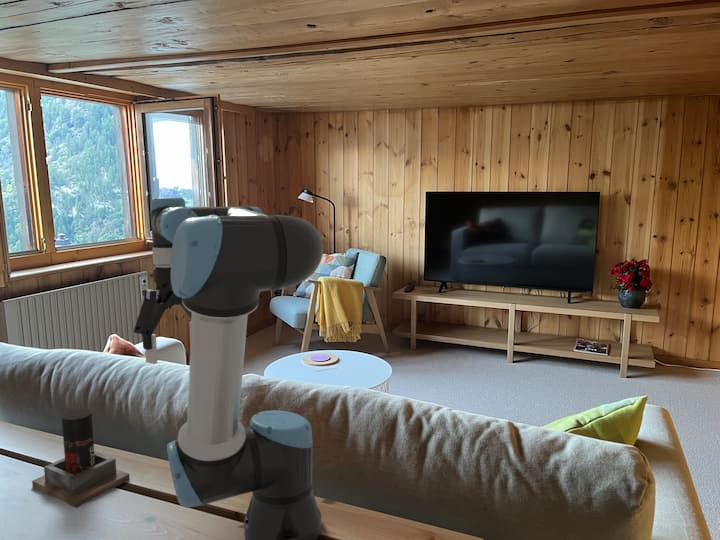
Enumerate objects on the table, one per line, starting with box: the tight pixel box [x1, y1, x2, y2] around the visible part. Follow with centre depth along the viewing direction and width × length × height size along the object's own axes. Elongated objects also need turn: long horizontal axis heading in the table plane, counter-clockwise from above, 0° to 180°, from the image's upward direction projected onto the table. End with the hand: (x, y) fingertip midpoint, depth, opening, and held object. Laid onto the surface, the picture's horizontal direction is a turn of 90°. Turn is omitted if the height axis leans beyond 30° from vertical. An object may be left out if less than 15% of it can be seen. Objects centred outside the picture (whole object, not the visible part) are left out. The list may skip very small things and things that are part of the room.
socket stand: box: [31, 450, 131, 508], centre depth 124 cm, size 16×13×5 cm
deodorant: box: [61, 408, 95, 475], centre depth 123 cm, size 6×6×15 cm
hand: (174, 355), depth 128 cm, fingers open, 13 cm apart
